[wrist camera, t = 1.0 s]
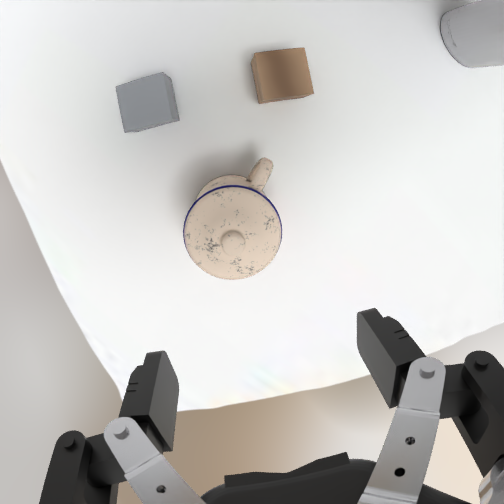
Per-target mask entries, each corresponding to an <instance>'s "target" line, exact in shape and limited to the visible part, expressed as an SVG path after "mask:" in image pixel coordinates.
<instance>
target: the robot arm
mask: <svg viewBox="0 0 504 504" xmlns="http://www.w3.org/2000/svg"><path fill="white" fill-rule="evenodd" d="M441 34H442V37H443V40H444V43H445V45H446V47H447V49H448V50H449V52H450V53H451V55H452V56H453V57H454V58H455V59H456V60H457V61H458V62H459V63H461V64H462V65H464V66H466V67H469V68H478V67H488V66H501V65H504V0H480V1H477V2H474V3H471V4H468V5H465V6H462V7H459V8H456V9H454V10H451V11H448V12H446V13H445V14H444V15H443V17H442V20H441ZM357 346H358V350H359V353H360V355H361V357H362V359H363V361H364V363H365V364H366V366H367V368H368V370H369V372H370V373H371V375H372V377H373V379H374V381H375V382H376V384H377V386H378V388H379V390H380V392H381V394H382V395H383V397H384V399H385V401H386V403H387V405H388V407H389V408H393V407H396V406H398V407H397V409H396V411H395V414H394V418H393V420H392V423H391V426H390V429H389V432H388V434H387V438H386V440H385V443H384V445H383V448H382V450H381V453H380V455H379V458H378V460H377V462H374V461H370V460H363V459H349V458H348V455H347V452H344V453H341V454H337V455H333V456H330V457H326V458H322V459H318V460H315V461H313V462H311V463H309V464H307V465H304V466H302V467H300V468H298V469H296V470H293V471H291V472H288V473H266V472H250V473H243V474H235V475H226V476H225V484H222V485H219V486H217V487H215V488H213V489H211V490H209V491H208V492H206V493H205V494H203V495H202V496H201V497H199V496H198V495H197V494H196V493H195V491H194V490H193V489H192V488H191V487H190V486H189V485H188V484H187V483H186V482H185V481H184V480H183V479H182V477H181V476H180V475H179V474H178V473H177V472H176V471H175V470H174V468H173V467H172V466H171V465H170V464H169V462H168V461H167V460H166V459H165V458H164V456H163V452H166V451H173V441H174V431H175V421H176V412H177V404H178V395H179V383H178V379H177V376H176V374H175V372H174V369H173V367H172V365H171V362H170V360H169V358H168V355H167V353H166V352H165V351H157V352H150V353H147V354H146V357H145V360H144V364H143V365H141V366H137V367H136V369H135V370H134V371H133V372H132V374H131V376H130V379H129V382H128V386H127V389H126V393H125V396H124V399H123V403H122V407H121V411H120V414H119V418H117V419H115V420H113V421H112V422H110V423H109V424H108V425H107V426H106V428H105V430H104V433H102V434H99V435H95V436H92V437H88V438H85V436H84V435H83V434H82V433H81V432H79V431H68V432H66V433H64V434H63V435H61V436H60V437H59V439H58V440H57V442H56V445H55V448H54V451H53V455H52V458H51V461H50V465H49V468H48V472H47V475H46V479H45V482H44V486H43V490H42V494H41V499H40V502H39V504H116V503H117V493H118V484H119V483H120V482H124V481H128V482H129V484H130V485H131V487H132V488H133V490H134V491H135V493H136V494H137V496H138V497H139V498H140V500H141V501H142V503H143V504H471V503H468V502H466V501H463V500H460V499H458V498H456V497H453V496H451V495H448V494H446V493H443V492H441V491H438V490H436V489H434V488H431V487H429V486H427V485H425V484H423V481H424V478H425V475H426V471H427V468H428V464H429V461H430V456H431V453H432V449H433V445H434V441H435V437H436V432H437V428H438V423H439V419H444V418H450V417H451V418H452V419H453V421H454V423H455V425H456V427H457V428H458V430H459V432H460V434H461V436H462V437H463V439H464V441H465V443H466V445H467V447H468V448H469V451H470V452H471V454H472V456H473V458H474V460H475V462H476V464H477V466H478V467H479V469H480V472H481V474H482V476H483V478H484V479H483V480H482V481H481V483H480V486H479V497H480V504H504V368H503V367H502V365H501V364H500V363H499V362H498V361H497V359H496V358H495V357H494V356H493V355H491V354H490V353H488V352H486V351H474V352H471V353H470V354H468V355H467V357H466V358H465V362H464V363H463V364H455V365H443V363H442V362H441V361H439V360H438V359H436V358H432V357H426V356H425V354H424V353H423V352H422V350H421V349H420V348H419V347H418V345H417V344H416V343H415V341H414V340H413V339H412V338H411V336H409V334H408V333H407V331H406V330H404V328H403V327H402V325H401V324H400V323H399V322H398V321H397V320H395V319H393V318H391V317H389V316H387V317H384V318H383V317H382V316H381V314H380V313H379V312H378V310H377V309H376V308H372V309H368V310H365V311H361V312H358V313H357Z"/></svg>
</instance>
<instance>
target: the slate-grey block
mask: <svg viewBox="0 0 504 504" xmlns="http://www.w3.org/2000/svg"><path fill="white" fill-rule="evenodd" d="M116 92H117V97H118V103H119V108H120V113H121V118H122V123H123V127H124V132H125V133H126V132H139V131H142V130H145V129H149V128H152V127H156V126H160V125H164V124H167V123H171V122H175V121H179V116H178V111H177V106H176V101H175V96H174V91H173V86H172V81H171V79H170V78H169V77H168V76H167V75H166V74H164V73H163V72H162V73H158V74H154V75H151V76H147V77H144V78H141V79H138V80H134V81H131V82H128V83H125V84H122V85H119V86H116Z"/></svg>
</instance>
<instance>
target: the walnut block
mask: <svg viewBox="0 0 504 504" xmlns="http://www.w3.org/2000/svg"><path fill="white" fill-rule="evenodd" d="M251 66H252V71H253V76H254V81H255V86H256V91H257V96H258V101H259V104H262V103H268V102H275V101H282V100H289V99H297V98H303V97H306V96H309V95H311V94H314V92H313V87H312V82H311V77H310V72H309V67H308V62H307V57H306V53H305V48H293V49H283V50H274V51H266V52H258V53H254V56H253V58H252V61H251Z"/></svg>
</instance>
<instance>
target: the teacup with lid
mask: <svg viewBox="0 0 504 504" xmlns="http://www.w3.org/2000/svg"><path fill="white" fill-rule="evenodd" d="M272 169H273V163H272V161H271V160H269V159H267V158H262V159H260V160H259V161H258V162H257V163H256V164H255V166H254V167H253V169H252V170H251V172H250V174H249V175H248V177H247V178H245V177H241V176H236V175H227V176H222V177H219V178H216V179H214V180H212V181H210V182H209V183H208V184H207V185H205V186H204V187H203V189H202V190H201V191H200V193H199V194H198V196H197V198H196V201H195V202H194V204H193V205H192V206H191V208H190V210H189V211H188V213H187V216H186V219H185V222H184V228H183V237H184V243H185V246H186V249H187V251H188V253H189V255H190V257H191V258H192V260H193V261H194V262H195V263H196V265H198V266H199V267H200V268H201V269H202V270H203V271H205V272H206V273H208V274H210V275H212V276H215V277H218V278H222V279H229V280H235V279H243V278H247V277H250V276H252V275H255V274H257V273H258V272H260V271H261V270H263V269H264V268H265V267H266V266H267V265H268V264H269V263H270V262H271V261H272V260H273V258H274V257H275V255H276V253H277V251H278V249H279V247H280V243H281V239H282V225H281V220H280V217H279V214H278V212H277V210H276V208H275V207H274V205H273V204H272V203H271V202H270V200H269V199H268V198H267V197H266V196H265V194H264V193H263V191H262V189H263V187H264V186H265V184H266V182H267V180H268V178H269V176H270V174H271V172H272Z"/></svg>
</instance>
